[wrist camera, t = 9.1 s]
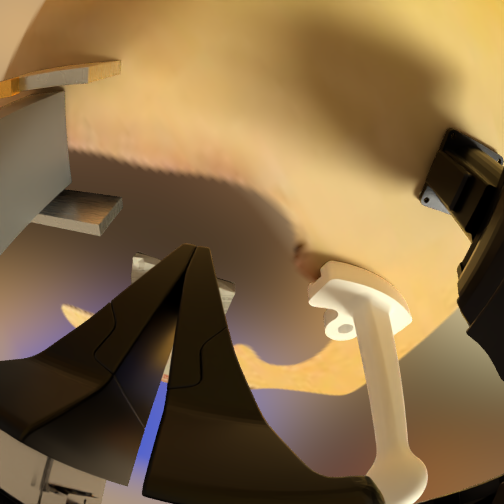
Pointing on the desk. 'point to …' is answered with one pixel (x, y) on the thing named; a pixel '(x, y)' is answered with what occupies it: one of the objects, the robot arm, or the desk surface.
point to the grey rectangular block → (31, 160)
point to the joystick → (375, 367)
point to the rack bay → (71, 202)
